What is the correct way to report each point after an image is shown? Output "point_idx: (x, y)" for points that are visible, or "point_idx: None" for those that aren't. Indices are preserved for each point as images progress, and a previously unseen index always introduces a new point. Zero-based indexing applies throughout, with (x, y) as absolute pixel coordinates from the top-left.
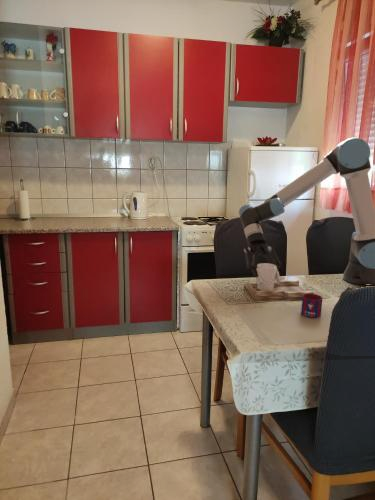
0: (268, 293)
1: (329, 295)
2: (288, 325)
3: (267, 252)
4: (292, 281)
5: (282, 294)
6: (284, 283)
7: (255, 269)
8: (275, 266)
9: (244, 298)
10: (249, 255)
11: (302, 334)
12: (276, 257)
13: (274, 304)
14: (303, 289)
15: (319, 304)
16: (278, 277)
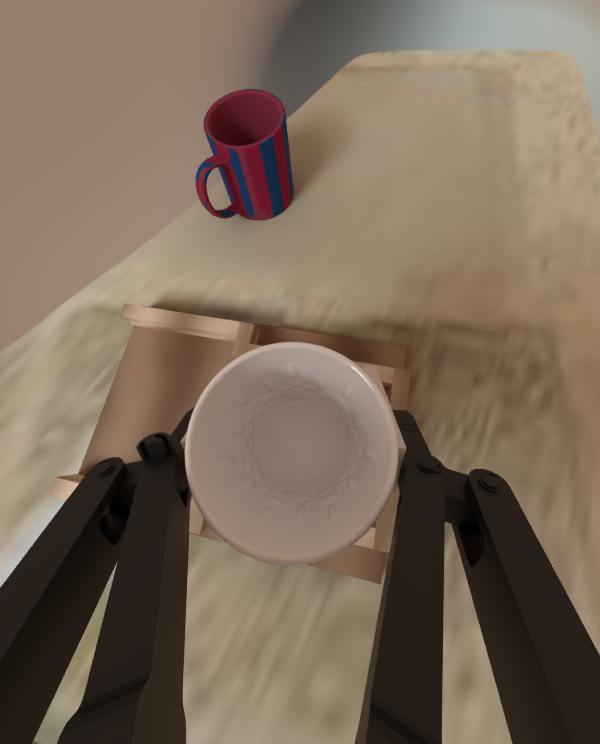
0: None
1: (54, 333)
2: (380, 143)
3: (98, 741)
4: None
5: None
6: None
7: (411, 454)
8: (200, 421)
9: (445, 385)
10: (586, 727)
11: (370, 99)
12: (43, 572)
13: (338, 293)
14: (108, 404)
15: (244, 115)
16: None
